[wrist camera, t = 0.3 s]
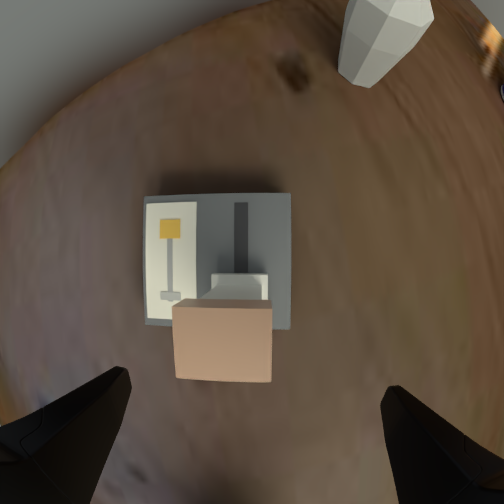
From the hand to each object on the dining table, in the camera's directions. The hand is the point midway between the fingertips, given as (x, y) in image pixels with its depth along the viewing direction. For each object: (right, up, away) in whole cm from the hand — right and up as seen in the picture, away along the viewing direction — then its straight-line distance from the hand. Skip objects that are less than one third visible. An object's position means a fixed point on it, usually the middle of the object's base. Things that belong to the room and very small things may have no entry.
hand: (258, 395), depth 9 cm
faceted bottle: (+11, +23, +15) cm, 30 cm away
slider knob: (-1, +1, +12) cm, 12 cm away
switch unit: (-3, +4, +16) cm, 16 cm away
